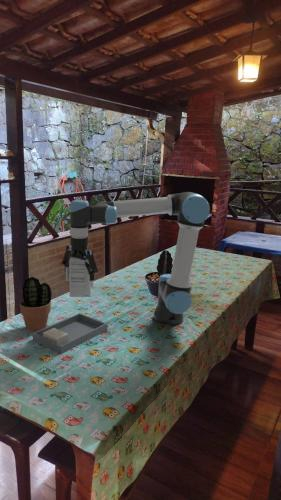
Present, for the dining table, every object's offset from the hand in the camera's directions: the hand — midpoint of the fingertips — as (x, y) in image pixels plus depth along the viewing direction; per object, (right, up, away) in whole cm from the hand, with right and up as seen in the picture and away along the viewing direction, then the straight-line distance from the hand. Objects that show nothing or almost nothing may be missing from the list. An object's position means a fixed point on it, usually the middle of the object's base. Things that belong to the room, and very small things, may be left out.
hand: (79, 284), depth 162 cm
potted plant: (-21, -22, +8) cm, 31 cm away
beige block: (-9, -24, -6) cm, 26 cm away
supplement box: (0, -5, +2) cm, 5 cm away
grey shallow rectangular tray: (-4, -24, +2) cm, 24 cm away
